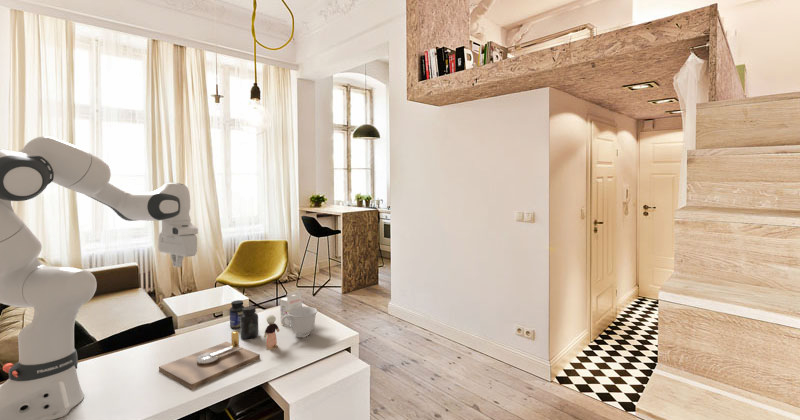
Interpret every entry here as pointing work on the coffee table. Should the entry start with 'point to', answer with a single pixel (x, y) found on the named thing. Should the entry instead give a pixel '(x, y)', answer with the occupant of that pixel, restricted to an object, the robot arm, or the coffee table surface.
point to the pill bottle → (236, 314)
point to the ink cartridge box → (290, 304)
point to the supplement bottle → (249, 323)
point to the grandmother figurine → (271, 332)
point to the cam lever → (214, 356)
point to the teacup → (301, 320)
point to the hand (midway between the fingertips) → (177, 266)
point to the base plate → (207, 365)
